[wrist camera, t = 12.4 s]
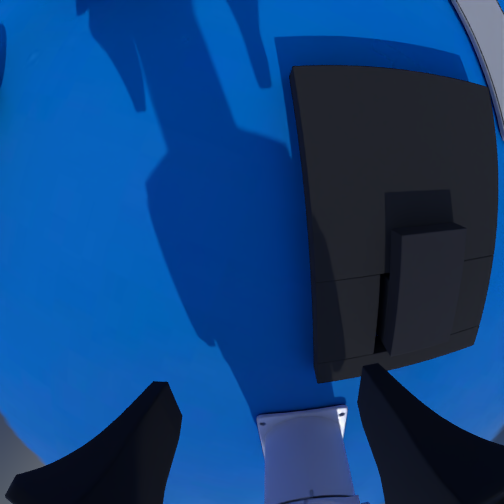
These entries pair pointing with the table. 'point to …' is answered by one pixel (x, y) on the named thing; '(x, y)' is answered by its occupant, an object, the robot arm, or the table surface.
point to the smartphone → (487, 45)
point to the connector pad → (420, 287)
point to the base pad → (389, 197)
